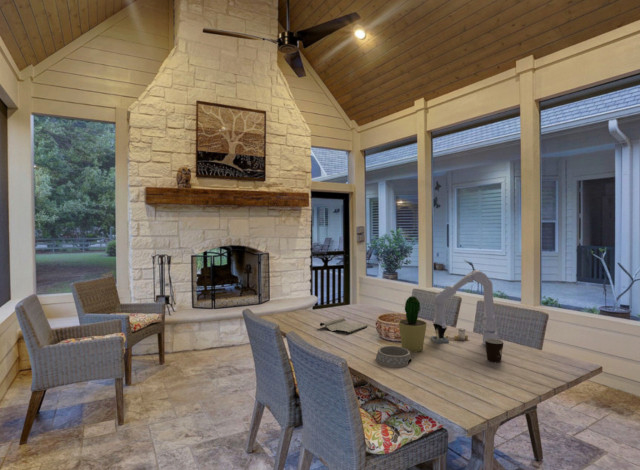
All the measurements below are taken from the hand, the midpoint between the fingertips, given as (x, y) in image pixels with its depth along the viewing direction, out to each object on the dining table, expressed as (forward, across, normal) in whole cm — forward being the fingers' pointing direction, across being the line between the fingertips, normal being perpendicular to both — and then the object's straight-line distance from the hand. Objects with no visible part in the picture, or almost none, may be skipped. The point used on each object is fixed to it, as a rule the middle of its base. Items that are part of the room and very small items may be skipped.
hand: (439, 337), depth 224 cm
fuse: (+2, -2, +14) cm, 15 cm away
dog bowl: (+3, +29, -35) cm, 45 cm away
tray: (+3, 0, 0) cm, 3 cm away
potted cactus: (+3, +10, -20) cm, 22 cm away
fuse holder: (+3, -2, +11) cm, 12 cm away
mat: (+4, -32, -54) cm, 63 cm away
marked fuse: (+1, 0, 0) cm, 1 cm away
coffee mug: (+3, +30, +18) cm, 36 cm away
